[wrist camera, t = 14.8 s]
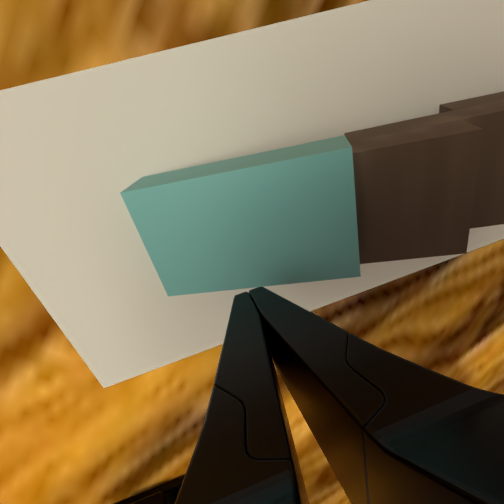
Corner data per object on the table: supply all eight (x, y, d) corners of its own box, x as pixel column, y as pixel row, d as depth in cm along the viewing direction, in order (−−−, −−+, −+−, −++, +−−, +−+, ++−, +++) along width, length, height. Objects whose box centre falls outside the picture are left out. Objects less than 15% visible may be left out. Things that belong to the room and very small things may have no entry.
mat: (526, 227, 20) (530, 228, 20) (104, 384, 17) (103, 388, 17) (593, -53, 14) (601, -57, 13) (-90, 113, 10) (-96, 113, 10)
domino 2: (344, 133, 14) (553, 89, 12) (351, 226, 16) (527, 201, 14) (349, 141, 12) (589, 93, 11) (356, 243, 15) (554, 217, 13)
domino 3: (253, 160, 13) (460, 119, 11) (274, 252, 16) (449, 232, 14) (247, 172, 12) (484, 128, 10) (271, 273, 14) (466, 253, 12)
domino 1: (141, 177, 12) (344, 135, 11) (181, 272, 15) (353, 251, 13) (119, 192, 11) (351, 147, 9) (168, 296, 13) (360, 276, 11)
